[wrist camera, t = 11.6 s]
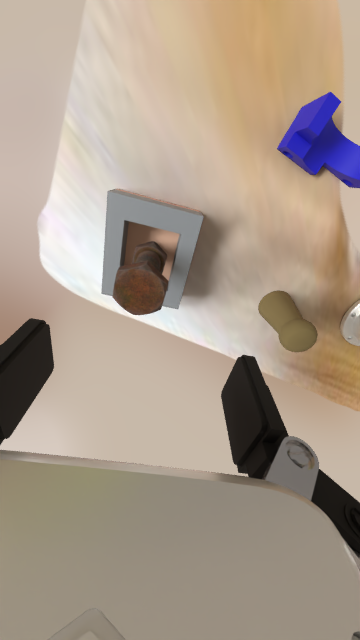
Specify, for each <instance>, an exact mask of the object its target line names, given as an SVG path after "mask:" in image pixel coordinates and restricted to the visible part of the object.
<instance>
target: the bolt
mask: <svg viewBox="0 0 360 640" xmlns="http://www.w3.org/2000/svg"><path fill="white" fill-rule="evenodd" d="M166 259H167V254H166V253H165V252H164V250H163V249H162V248H161V247H160V246H159V245H158V243H156V242H154V241H150V242H146V243H143V244H140V245H137V246H136V248H135V251H134V256H133V261H132V264H129V265H125V266H121V267H119V268H118V270H117V273H116V277H115V283H114V288H113V298H114V299H115V301H116V302H117V303H118V304H119V305H120V306H121V307H122V308H124V309H125V310H126V311H128V312H129V313H131V314H133V315H144V314H150V313H153V312H156V311H158V310H161V307H162V305H163V302H164V298H165V295H166V292H167V288H168V280H167V279H166V278H165V277H164V276H163V275H162V273H163V270H164V266H165V263H166Z"/></svg>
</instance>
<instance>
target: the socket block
mask: <svg viewBox="0 0 360 640" xmlns="http://www.w3.org/2000/svg"><path fill="white" fill-rule="evenodd" d="M203 217H204V216H203V215H202V213H201V212H200V211H198V210H194V209H190V208H187V207H183V206H179V205H176V204H172V203H168V202H164V201H161V200H157V199H153V198H150V197H146V196H142V195H138V194H135V193H131V192H127V191H124V190H120V189H114V190H110V191H108V195H107V212H106V229H105V245H104V262H103V279H102V294H105V295H110V296H113V288H114V283H115V277H116V273H117V270H118V268H119V267H121V266H125V265H129V264H132V261H133V256H134V251H135V248H136V246H137V245H140V244H143V243H146V242H150V241H154V242H156V243H158V245H159V246H160V247H161V248H162V249H163V250H164V252H165V253H166V254H167V259H166V263H165V266H164V270H163V273H162V275H163V276H164V277H165V278H166V279H167V280H168V288H167V292H166V295H165V298H164V302H163V305H162V306H165V307H170V308H175V309H178V308H179V304H180V301H181V297H182V294H183V290H184V286H185V283H186V279H187V275H188V272H189V268H190V264H191V261H192V257H193V254H194V250H195V246H196V243H197V239H198V235H199V232H200V228H201V225H202V221H203Z"/></svg>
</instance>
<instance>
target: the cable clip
mask: <svg viewBox="0 0 360 640" xmlns="http://www.w3.org/2000/svg"><path fill="white" fill-rule="evenodd" d="M340 103H341V101H340V100H339V99H338V98H337V97H336V96H335V95H334V94H332V93H331V92H329V93H327V94H326V95H324V96H322V97H320V98H318V99H316V100H314V101H312V102H311V103H309V104H307V105H305V106H303V107H302V108H301V110H300V111H299V113H298V115H297V116H296V118H295V120H294V121H293V123H292V125H291V126H290V128H289V129H288V131H287V133H286V134H285V136H284V138H283V139H282V141H281V143H280V144H279V146H278V148H277V149H278V150H279V151H280V152H282V153H283V154H284V155H286V156H287V157H288V158H289V159H291V160H292V161H293V162H295V163H296V164H297V165H299V166H300V167H301V168H303V169H304V170H305V171H306V172H308V173H309V174H310V175H316V174H317V173H318V171H319V170H320V168H321V167H322V166H324V167H325V168H326V169H327V170H329V171H330V172H331V173H332V174H334V175H335V176H336V177H337V178H339V179H340V180H341V181H342V182H343V183H345V184H346V185H347V186H348V187H352V188H353V187H354V188H360V146H358V145H357V144H355V143H353V142H352V141H350V140H349V139H347V138H346V137H345V136H344V135H343V134H342V133H341V132H340V131H339V130H338V129H337V128H336V126H335V125H334V123H333V120H332V115H333V113H334V112H335V110H336V109H337V107H338V106H339V104H340Z"/></svg>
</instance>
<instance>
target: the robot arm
mask: <svg viewBox="0 0 360 640" xmlns="http://www.w3.org/2000/svg"><path fill="white" fill-rule="evenodd" d="M340 330H341V334H342V336H343V337H344V338H345V340H346V341H348V342H349V343H351V344H353V345H356V346H360V300H358V301H357V302H356V303H355V304H354V305H352V306H351V307H350V308H349V310H348V311H347V312H346V314H345V315H344V317H343V319H342V322H341V326H340ZM53 368H54V362H53V353H52V345H51V336H50V327H49V325H48V324H46V322H45V321H44V320H38V319H32V318H31V319H29V320H28V321H27V322H25V323H24V324H23V325H22V326H21V327H20V328H19V329H18V330H17V331H16V332H15V333H14V334H13V335H12V336H11V337H10V338H8V339H7V341H5V342H4V343H3V344H2V345H0V444H1V443H2V441H3V440H4V439H5V438H6V439H7V438H9V437H10V436H11V434H12V433H13V431H14V430H15V428H16V427H17V425H18V424H19V422H20V421H21V419H22V417H23V416H24V415H25V413H26V411H27V410H28V408H29V407H30V405H31V404H32V402H33V401H34V399H35V398H36V396H37V394H38V393H39V391H40V390H41V389H42V387H43V385H44V384H45V382H46V381H47V379H48V378H49V376H50V375H51V373H52V371H53ZM221 398H222V404H223V409H224V414H225V420H226V425H227V431H228V436H229V441H230V446H231V452H232V458H233V462H234V464H235V465H237V468H238V472H239V473H246V474H248V476H249V477H245V476H237V475H229V474H222V473H215V472H206V471H197V470H188V469H179V468H171V467H162V466H153V465H144V464H134V463H125V462H116V461H107V460H97V459H88V458H78V457H68V456H58V455H49V454H39V453H30V452H18V451H6V450H0V640H360V503H359V502H358V501H357V500H356V499H354V498H353V497H352V496H351V495H350V494H349V493H347V492H346V491H345V490H344V489H343V488H341V487H340V486H339V485H338V484H337V483H335V482H334V481H333V480H332V479H331V478H329V477H328V476H327V475H326V474H325V473H324V472H322V471H321V470H320V469H319V462H318V458H317V456H316V454H315V452H314V451H313V450H312V449H311V447H310V446H309V445H308V444H307V443H305V442H304V441H303V440H301V439H299V438H297V437H294V436H289V435H288V433H287V431H286V428H285V426H284V423H283V421H282V419H281V416H280V414H279V411H278V409H277V407H276V404H275V402H274V400H273V397H272V395H271V392H270V390H269V388H268V386H267V385H266V383H265V381H264V378H263V376H262V373H261V371H260V369H259V366H258V364H257V361H256V359H255V357H253V356H247V355H242V356H241V357H238V359H237V361H236V363H235V365H234V367H233V369H232V371H231V373H230V375H229V377H228V379H227V382H226V384H225V386H224V388H223V390H222V394H221Z"/></svg>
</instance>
